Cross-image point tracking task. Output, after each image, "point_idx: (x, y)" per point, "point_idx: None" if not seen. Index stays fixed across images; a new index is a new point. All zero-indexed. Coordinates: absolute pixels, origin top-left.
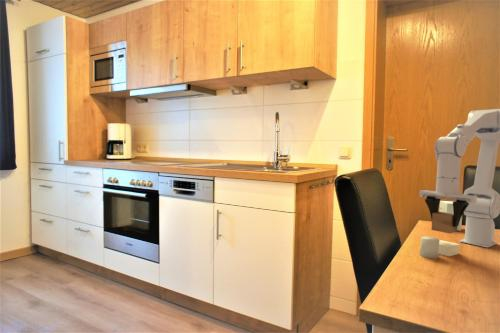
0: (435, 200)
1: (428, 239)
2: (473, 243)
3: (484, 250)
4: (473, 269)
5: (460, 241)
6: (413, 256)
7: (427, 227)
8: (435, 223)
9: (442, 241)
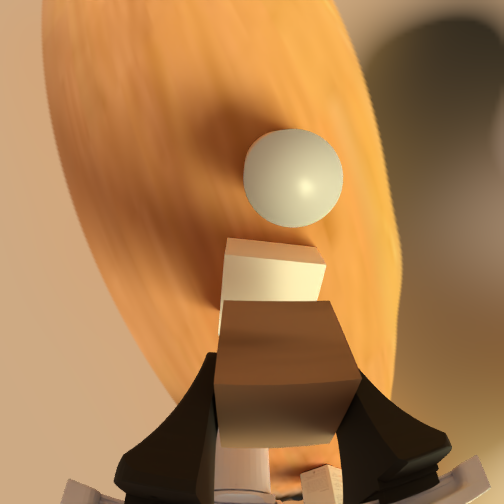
0: (373, 483)
1: (288, 135)
2: None
3: None
4: (108, 144)
5: None
6: (319, 99)
7: None
8: (318, 327)
9: None
